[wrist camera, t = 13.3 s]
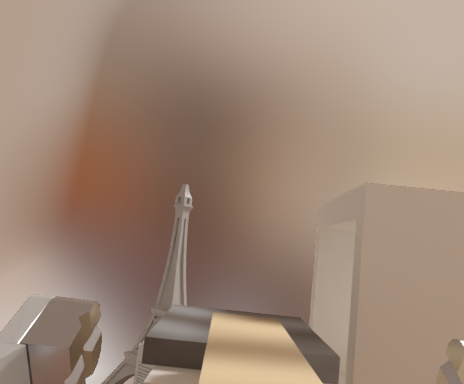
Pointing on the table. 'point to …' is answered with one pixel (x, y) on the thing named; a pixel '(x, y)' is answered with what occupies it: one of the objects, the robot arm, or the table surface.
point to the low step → (173, 375)
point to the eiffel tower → (164, 284)
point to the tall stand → (389, 282)
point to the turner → (240, 347)
